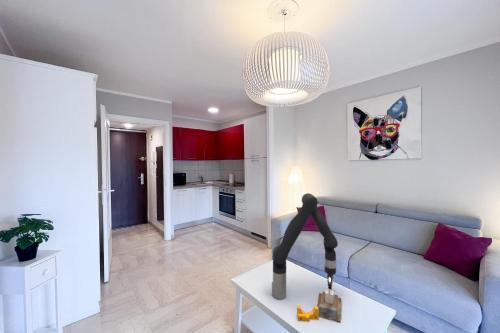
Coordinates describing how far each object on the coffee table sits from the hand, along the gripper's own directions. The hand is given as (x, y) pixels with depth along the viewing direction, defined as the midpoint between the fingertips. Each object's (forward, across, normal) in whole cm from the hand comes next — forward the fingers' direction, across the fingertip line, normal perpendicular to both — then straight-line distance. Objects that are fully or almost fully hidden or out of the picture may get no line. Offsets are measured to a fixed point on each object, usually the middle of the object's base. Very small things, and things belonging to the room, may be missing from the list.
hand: (329, 290), depth 145 cm
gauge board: (+4, +12, 0) cm, 12 cm away
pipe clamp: (+5, +27, -11) cm, 29 cm away
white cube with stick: (+3, +7, 0) cm, 7 cm away
